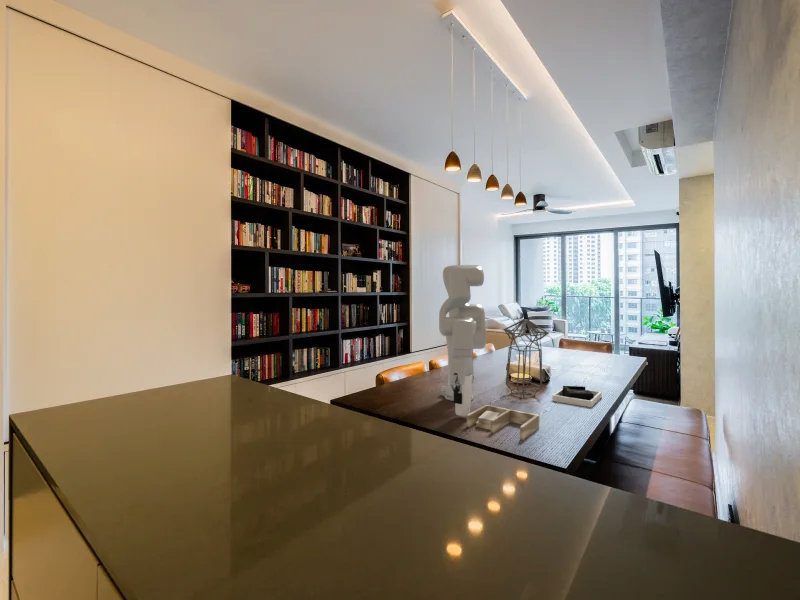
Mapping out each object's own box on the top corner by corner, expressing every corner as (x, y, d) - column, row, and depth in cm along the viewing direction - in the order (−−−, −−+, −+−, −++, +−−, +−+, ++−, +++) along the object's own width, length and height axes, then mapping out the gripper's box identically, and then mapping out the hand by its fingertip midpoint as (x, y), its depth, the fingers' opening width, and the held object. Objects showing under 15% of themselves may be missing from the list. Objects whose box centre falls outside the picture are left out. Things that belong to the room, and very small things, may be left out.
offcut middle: (476, 426, 135) (476, 422, 135) (487, 418, 144) (487, 414, 143) (491, 430, 132) (491, 425, 132) (501, 421, 140) (501, 417, 140)
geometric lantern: (527, 390, 187) (529, 317, 185) (549, 399, 172) (551, 320, 170) (498, 392, 182) (500, 317, 180) (518, 402, 167) (521, 321, 165)
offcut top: (478, 422, 135) (478, 417, 135) (486, 414, 143) (486, 410, 143) (492, 424, 133) (492, 420, 132) (500, 417, 140) (500, 412, 140)
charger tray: (552, 400, 169) (552, 395, 169) (564, 391, 183) (565, 386, 183) (591, 407, 159) (591, 401, 159) (601, 397, 173) (601, 391, 173)
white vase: (471, 418, 140) (472, 376, 140) (452, 416, 142) (453, 375, 141) (472, 412, 147) (472, 372, 147) (454, 411, 148) (454, 371, 148)
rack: (466, 429, 135) (466, 414, 135) (486, 417, 147) (486, 404, 147) (523, 443, 123) (523, 427, 123) (539, 429, 135) (539, 415, 134)
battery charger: (593, 403, 164) (593, 393, 164) (569, 402, 166) (569, 393, 165) (585, 395, 176) (585, 386, 176) (562, 394, 178) (562, 385, 178)
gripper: (465, 348, 153) (465, 394, 153) (441, 355, 139) (441, 405, 140) (482, 350, 148) (482, 397, 149) (459, 357, 135) (459, 408, 135)
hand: (462, 400), depth 144 cm, fingers closed on white vase, 6 cm apart
